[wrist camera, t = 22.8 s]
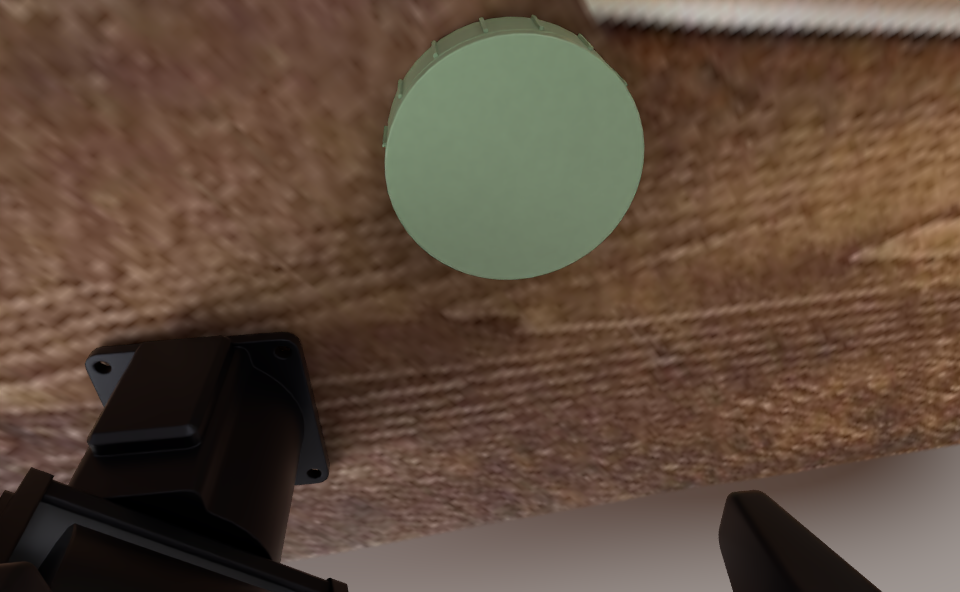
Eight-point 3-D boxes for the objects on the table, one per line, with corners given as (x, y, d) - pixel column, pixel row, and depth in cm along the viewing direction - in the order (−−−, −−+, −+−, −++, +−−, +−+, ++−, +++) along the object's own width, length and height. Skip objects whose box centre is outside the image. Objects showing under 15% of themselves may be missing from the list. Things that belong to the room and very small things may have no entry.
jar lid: (397, 254, 20) (396, 289, 19) (372, 20, 17) (368, 39, 15) (615, 240, 21) (632, 273, 19) (637, 9, 17) (660, 25, 15)
